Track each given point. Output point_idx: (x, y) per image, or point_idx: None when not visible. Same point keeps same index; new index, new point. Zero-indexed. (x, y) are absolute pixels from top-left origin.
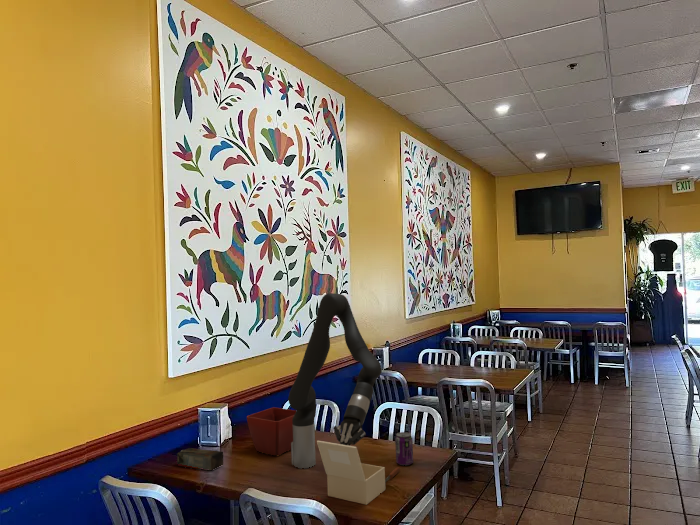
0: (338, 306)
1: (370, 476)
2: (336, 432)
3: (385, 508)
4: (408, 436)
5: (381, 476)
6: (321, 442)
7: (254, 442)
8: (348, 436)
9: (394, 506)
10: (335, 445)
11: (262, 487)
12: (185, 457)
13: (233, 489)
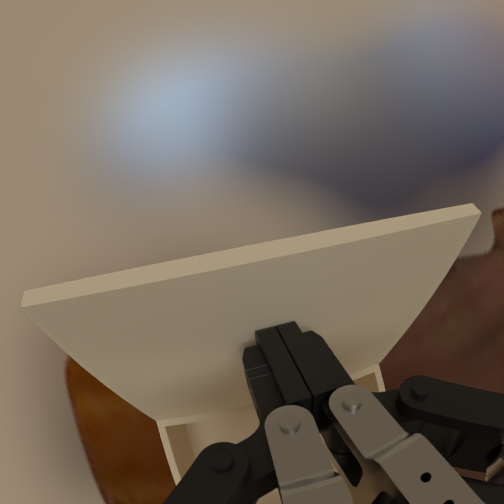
0: None
1: (178, 473)
2: (499, 409)
3: (109, 417)
4: None
5: None
6: (441, 209)
7: None
8: (295, 483)
9: (98, 443)
10: (294, 245)
11: (485, 261)
12: None
13: (496, 214)
